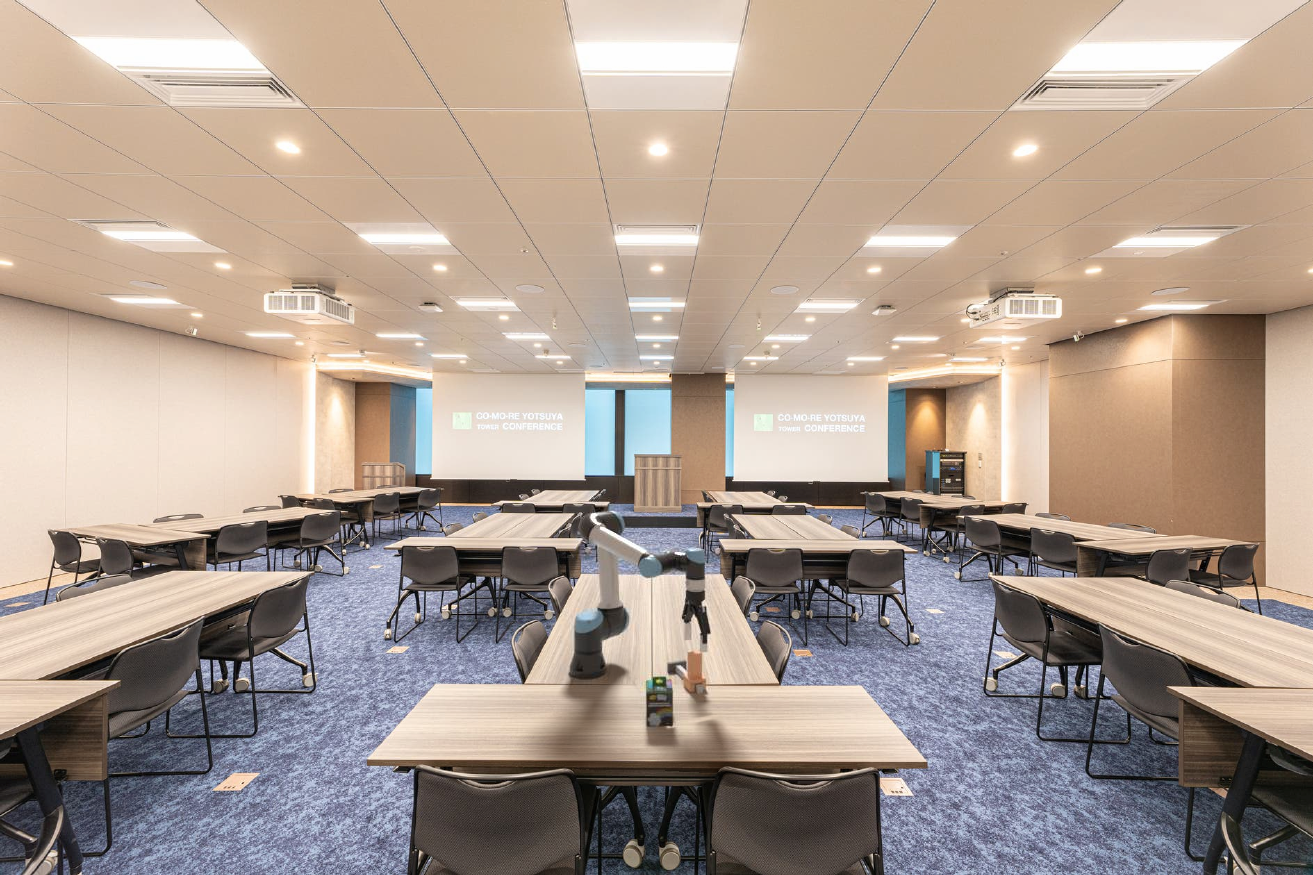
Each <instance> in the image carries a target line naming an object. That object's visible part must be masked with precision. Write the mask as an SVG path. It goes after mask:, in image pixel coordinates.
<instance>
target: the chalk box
mask: <svg viewBox="0 0 1313 875" xmlns="http://www.w3.org/2000/svg"><path fill="white" fill-rule="evenodd" d="M645 710H646V711H645V721H646V722H645V724H646V725H645V726H646V727H673V726H674V689H673V682H672V679H671V678H670V679H669V678H668V679H667V677H666V676H653V677H652V679H646V680H645Z"/></svg>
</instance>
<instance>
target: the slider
mask: <svg viewBox="0 0 1313 875" xmlns="http://www.w3.org/2000/svg"><path fill="white" fill-rule="evenodd" d="M686 671H687V674H685V675H684V679H683V682H682V683H683V687H684V688H685V689H686V690H687V691H688V692H689V693H695V692H696V691H695V684H696V683H700V684H701V685H702V686H703V691H705V690H707V678H706V677H705V676H704V675H703V652H702V653H701V652H700V650H696V651H695V650H694V651H688V652H687V669H686Z"/></svg>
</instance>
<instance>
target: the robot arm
mask: <svg viewBox="0 0 1313 875" xmlns="http://www.w3.org/2000/svg"><path fill="white" fill-rule="evenodd" d="M625 525H626V524H625V521H624V518H623V516H622V515H621V514H620V513H619V512H617V511H614V510H607V511H605V510H604V511H598V512H589V513H587V514H585V515H584V516H583V517H582V518H581V519H580V520H579V523H578V528H577V529H578V534H579V535H580V537H581V538H582V540H584V541H585V542H587V543H588V544H590V545H592V546H597V555H598V556H597V557H598V559H597V560H598V580H599V582H598V583H599V600H600V601H599V602H598V604H596V609H590V610H585V611H584V610H583V611H582V612H580V613H578V614H577V615H576V616H575V618H574V625H573V630H574V632H573V638H574V639H573V641H574V642H573V650H574V651H573V655H572V658H571V660H570V663H569V672H568V673H569V674H570V676H572V677H574V678H577V679H582V680H583V679H584V680H586V679H587V680H589V679H596V678H598V677H601V676H602V675H605V673H606V672H607V663H606V662H607V661H606V659H605V656H604V653H603V642H604V641H607V640H608V639H611V638H614V637H616V636H619V635H621V634H622V633H624V632H626V630H627V629H628V627H629V626H630V614H629V611H628V610H627V608H626V607H625V606H624V602H622V601H621V598H620V579H619V577H620V576H619V558H620V559H621V560H622V561H625V562H626V563H629V564H630V565H632V566H634V567H635V568H637V569H638V571H639V573H640V575H641V576H642V577H643V578H644V579H645V578H646V579H650V578H651V579H653V578H657V577H659V576H662V575H666V574H670V573H672V572H681V573H685V582H684V583H685V589H686V590H685V598H684V605H683V610H682V614H681V620H683V623H684V625H683V626H684V630H683V631H684V636H683V637H684V638H683V639H684V641H691V640H692V622H693V621H692V619H693V616H694V617H695V618H696V621H697V624H698V627H699V631H700V633H699V651H700V652H701V653H702V654H703V653H708V635H711V634H712V633H711V632H712V631H711V626H710V622H709V617H708V612H707V610H708V609H707V606H706V605H704V606H703V602H704V601H705V600H706V590H705V589H706V555H705V550H704V549H703V548H699V547H696V548H695V547H688V548H686V550H685V552H682V551H676V550H672V549H671V550H666V549H665V550H662V551H661V552H660V553H659V554H654V553H652V552H650V551H648V550H647V549H645V548H643V547H642V546H640V545H639V544H635V543H634V542H632V541H630V540H628V539H626V538H625V537H622V536H621V535H623V533H624V531H625V528H626V526H625Z"/></svg>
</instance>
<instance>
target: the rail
mask: <svg viewBox="0 0 1313 875" xmlns="http://www.w3.org/2000/svg"><path fill="white" fill-rule="evenodd" d="M687 665H688V660H687V659H682V660H675V661H674V660H673V661H669V662H667V665H666V666H667V668H666V671H667V672H668V673H674V672H675V673H676V674H677V675H678V676H679V677H680V678H681V679H682V680H684V675H685V674H687ZM695 692H696V693H697V694H698V695H699V694H703V693H704V690H703V686H702V685H701V684H700V683H696V684H695Z"/></svg>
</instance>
